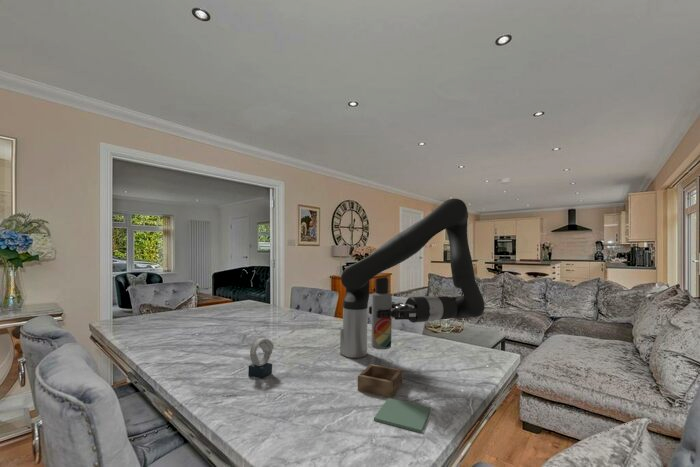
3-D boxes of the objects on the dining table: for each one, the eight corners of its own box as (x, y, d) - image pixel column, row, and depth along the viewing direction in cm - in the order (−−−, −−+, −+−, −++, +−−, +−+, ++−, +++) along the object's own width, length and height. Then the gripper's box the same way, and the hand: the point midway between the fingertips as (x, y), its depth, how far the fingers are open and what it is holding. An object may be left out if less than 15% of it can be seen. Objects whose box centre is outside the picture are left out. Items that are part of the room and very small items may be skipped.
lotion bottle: (390, 350, 88) (391, 278, 89) (370, 349, 90) (371, 277, 90) (391, 344, 94) (392, 276, 95) (372, 343, 95) (373, 275, 96)
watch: (275, 371, 101) (276, 336, 101) (259, 381, 93) (260, 343, 94) (261, 368, 103) (262, 334, 104) (244, 377, 96) (245, 340, 96)
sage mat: (373, 420, 74) (373, 417, 74) (388, 400, 84) (388, 397, 84) (421, 432, 69) (421, 430, 69) (431, 409, 79) (431, 407, 79)
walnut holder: (357, 390, 89) (357, 375, 89) (370, 377, 98) (370, 364, 98) (392, 398, 85) (392, 382, 85) (402, 383, 94) (402, 369, 94)
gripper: (411, 293, 104) (363, 295, 98) (438, 300, 91) (384, 303, 85) (411, 316, 104) (363, 319, 98) (438, 327, 90) (383, 331, 84)
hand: (373, 312), depth 91 cm, fingers closed on lotion bottle, 4 cm apart
